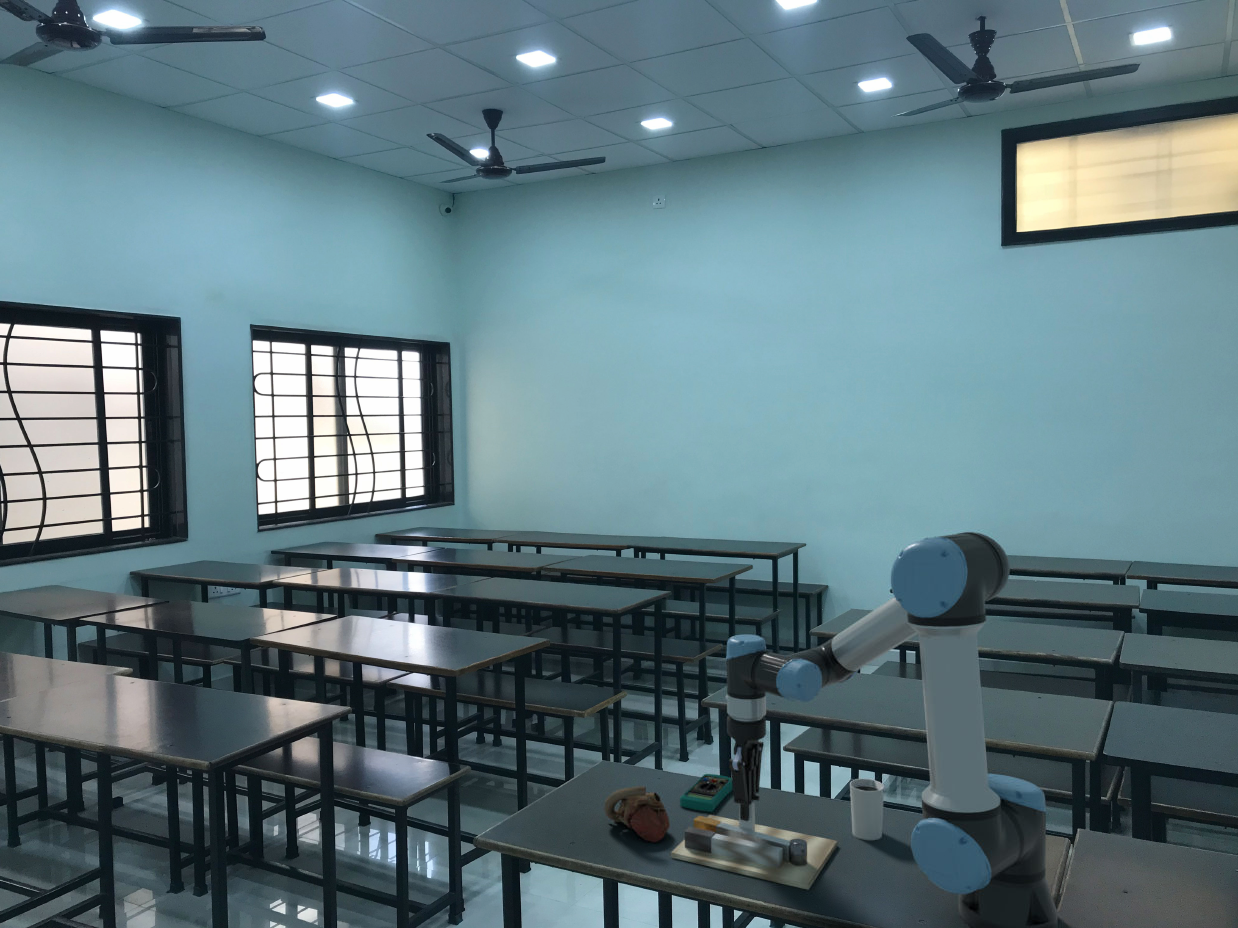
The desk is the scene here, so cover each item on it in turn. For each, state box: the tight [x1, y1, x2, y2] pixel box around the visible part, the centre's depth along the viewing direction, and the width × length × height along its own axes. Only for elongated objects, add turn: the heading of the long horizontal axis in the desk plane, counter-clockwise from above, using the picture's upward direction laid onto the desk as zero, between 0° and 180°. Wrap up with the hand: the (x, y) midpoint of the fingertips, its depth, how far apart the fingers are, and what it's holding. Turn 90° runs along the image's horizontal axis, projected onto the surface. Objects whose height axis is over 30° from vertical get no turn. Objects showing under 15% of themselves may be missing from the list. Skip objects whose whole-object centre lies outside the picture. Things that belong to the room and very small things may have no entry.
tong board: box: [670, 814, 838, 890], centre depth 174 cm, size 27×19×4 cm
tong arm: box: [693, 815, 807, 866], centre depth 173 cm, size 24×3×4 cm, turn 55°
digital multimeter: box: [679, 773, 733, 813], centre depth 201 cm, size 8×16×3 cm, turn 154°
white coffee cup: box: [849, 778, 885, 841], centre depth 181 cm, size 7×7×10 cm
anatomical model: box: [603, 786, 670, 843], centre depth 183 cm, size 13×9×15 cm
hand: (747, 833), depth 176 cm, fingers closed
